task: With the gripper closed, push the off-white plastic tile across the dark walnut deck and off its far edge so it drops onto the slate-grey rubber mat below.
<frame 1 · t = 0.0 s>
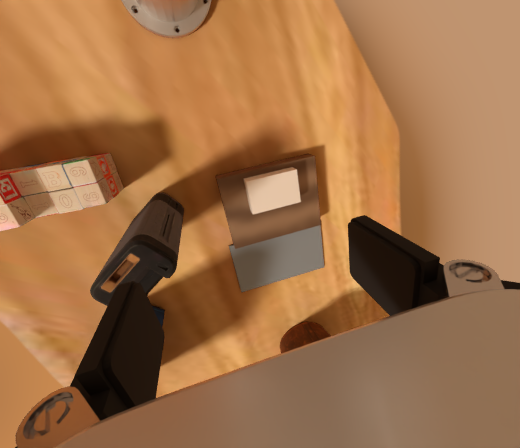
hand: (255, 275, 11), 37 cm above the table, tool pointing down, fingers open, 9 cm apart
deck: (269, 199, 49), on the table
electronic device: (158, 217, 46), on the table
tile: (272, 190, 44), point 4 cm above the table, touching deck
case: (301, 339, 67), on the table
mat: (279, 256, 55), on the table
stack of blocks: (48, 182, 40), on the table
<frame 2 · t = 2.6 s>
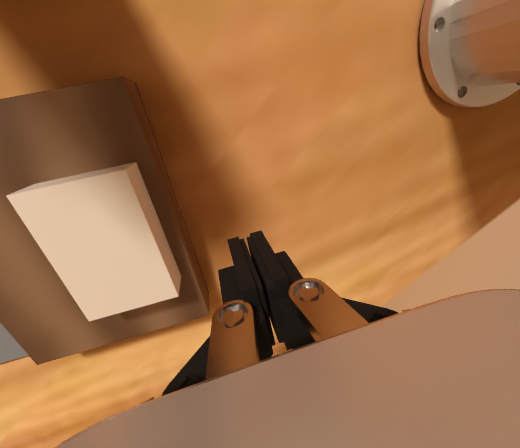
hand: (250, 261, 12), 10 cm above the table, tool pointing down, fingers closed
deck: (90, 229, 20), on the table
tile: (111, 244, 16), point 4 cm above the table, touching deck
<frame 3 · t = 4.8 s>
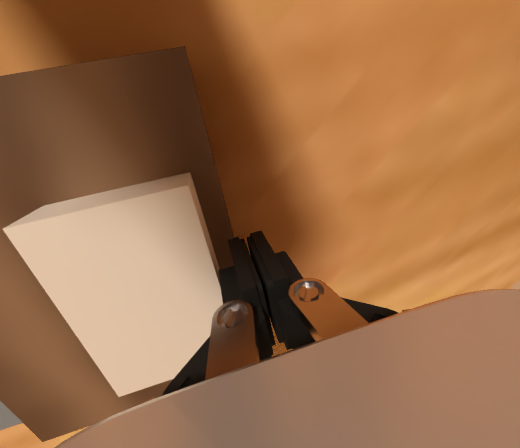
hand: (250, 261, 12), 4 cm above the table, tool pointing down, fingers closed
deck: (115, 259, 15), on the table
tile: (153, 288, 11), point 4 cm above the table, touching gripper
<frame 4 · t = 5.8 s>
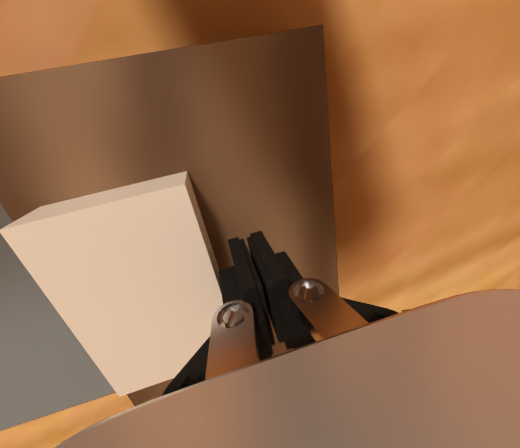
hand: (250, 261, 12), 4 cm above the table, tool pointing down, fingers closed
deck: (207, 235, 16), on the table
tile: (151, 288, 11), point 4 cm above the table, touching deck, gripper
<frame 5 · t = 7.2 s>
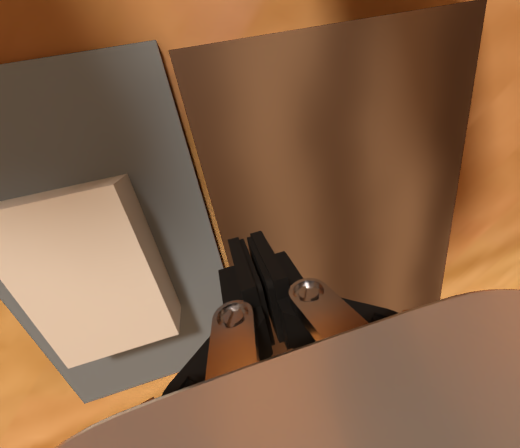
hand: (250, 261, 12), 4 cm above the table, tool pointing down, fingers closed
deck: (324, 204, 17), on the table
tile: (96, 274, 13), point 2 cm above the table, tilted 180°, touching mat
mat: (113, 260, 15), on the table
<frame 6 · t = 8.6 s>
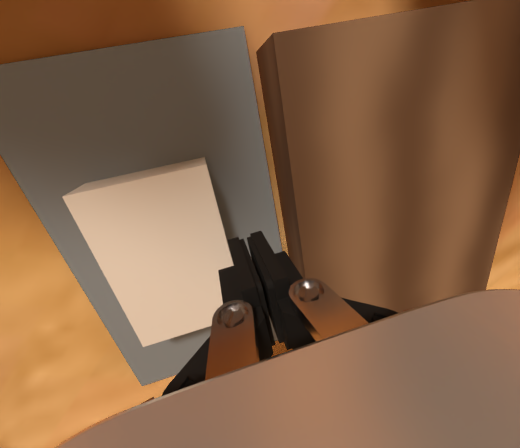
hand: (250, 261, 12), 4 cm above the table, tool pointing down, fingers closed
deck: (379, 190, 17), on the table
tile: (173, 254, 14), point 2 cm above the table, tilted 180°, touching mat
mat: (181, 244, 15), on the table
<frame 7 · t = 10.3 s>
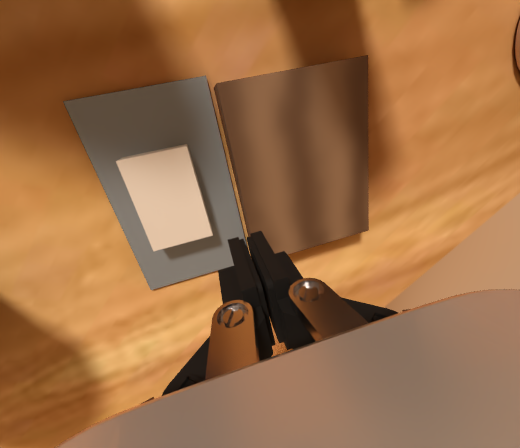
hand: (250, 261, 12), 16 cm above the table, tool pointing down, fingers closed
deck: (295, 165, 28), on the table
tile: (170, 198, 25), point 2 cm above the table, tilted 180°, touching mat
mat: (175, 195, 26), on the table
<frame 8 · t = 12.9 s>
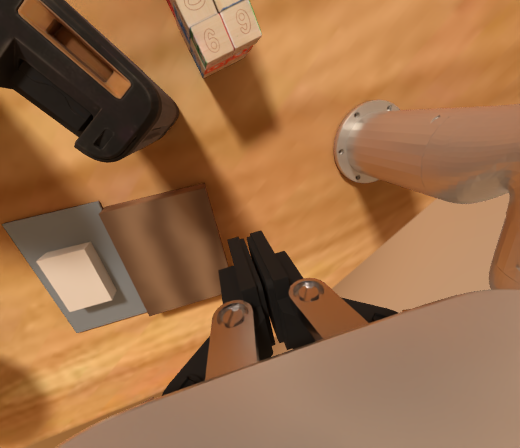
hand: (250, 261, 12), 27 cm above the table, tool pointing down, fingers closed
deck: (176, 247, 40), on the table
electronic device: (138, 100, 31), on the table
tile: (80, 277, 36), point 2 cm above the table, tilted 180°, touching mat
mat: (87, 271, 38), on the table
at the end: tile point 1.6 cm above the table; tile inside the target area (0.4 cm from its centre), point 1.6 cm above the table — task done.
